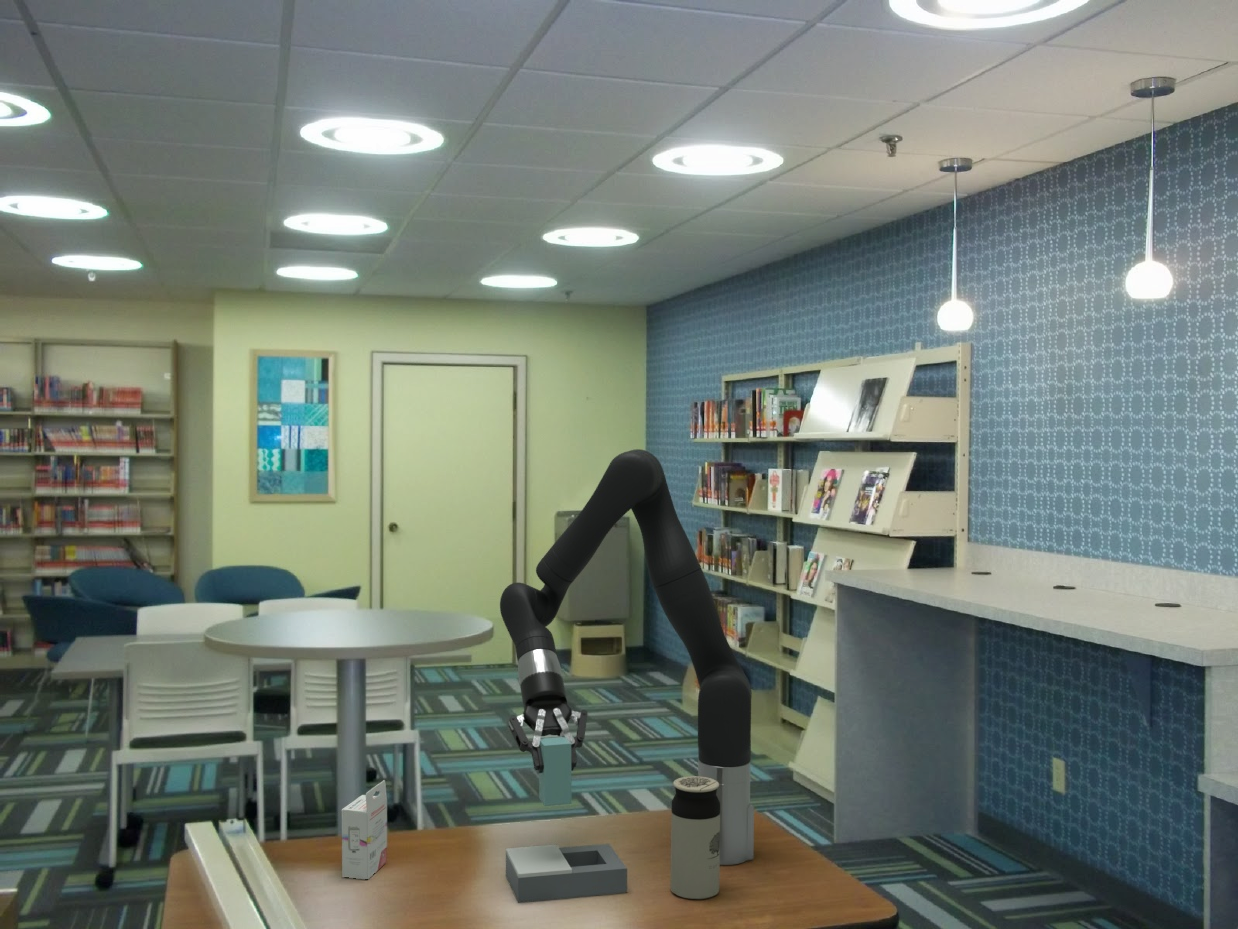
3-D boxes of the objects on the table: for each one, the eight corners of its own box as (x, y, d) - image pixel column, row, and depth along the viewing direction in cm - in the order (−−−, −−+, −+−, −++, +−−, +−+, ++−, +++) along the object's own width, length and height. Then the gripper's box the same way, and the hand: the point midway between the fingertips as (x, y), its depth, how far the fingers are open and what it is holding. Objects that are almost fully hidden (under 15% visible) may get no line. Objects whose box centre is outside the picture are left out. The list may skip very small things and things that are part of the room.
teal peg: (565, 796, 202) (565, 737, 202) (571, 804, 198) (571, 743, 198) (539, 798, 201) (538, 738, 201) (544, 806, 197) (544, 745, 197)
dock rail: (608, 866, 208) (608, 840, 208) (627, 892, 197) (627, 864, 197) (505, 875, 204) (505, 848, 204) (518, 902, 192) (518, 874, 192)
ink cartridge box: (361, 860, 210) (361, 777, 210) (387, 862, 209) (388, 778, 209) (340, 878, 202) (340, 791, 201) (367, 881, 201) (368, 793, 200)
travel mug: (660, 891, 197) (661, 782, 197) (691, 878, 203) (692, 772, 203) (698, 905, 192) (699, 793, 192) (728, 891, 198) (730, 782, 197)
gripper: (503, 672, 205) (516, 761, 194) (584, 667, 209) (602, 754, 198) (498, 696, 210) (511, 784, 199) (577, 691, 214) (595, 777, 203)
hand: (556, 769), depth 198 cm, fingers closed on teal peg, 4 cm apart
